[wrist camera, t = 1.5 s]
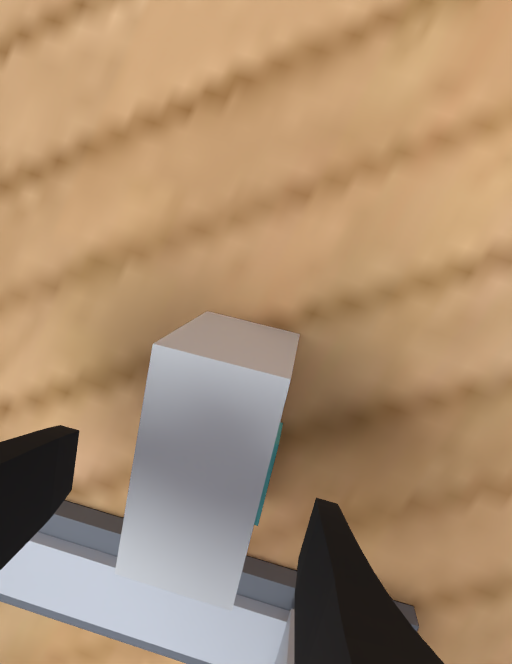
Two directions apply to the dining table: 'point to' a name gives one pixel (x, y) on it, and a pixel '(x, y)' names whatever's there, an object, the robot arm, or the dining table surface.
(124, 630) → the board
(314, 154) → the dining table surface
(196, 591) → the block
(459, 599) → the dining table surface
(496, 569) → the dining table surface
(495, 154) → the dining table surface
